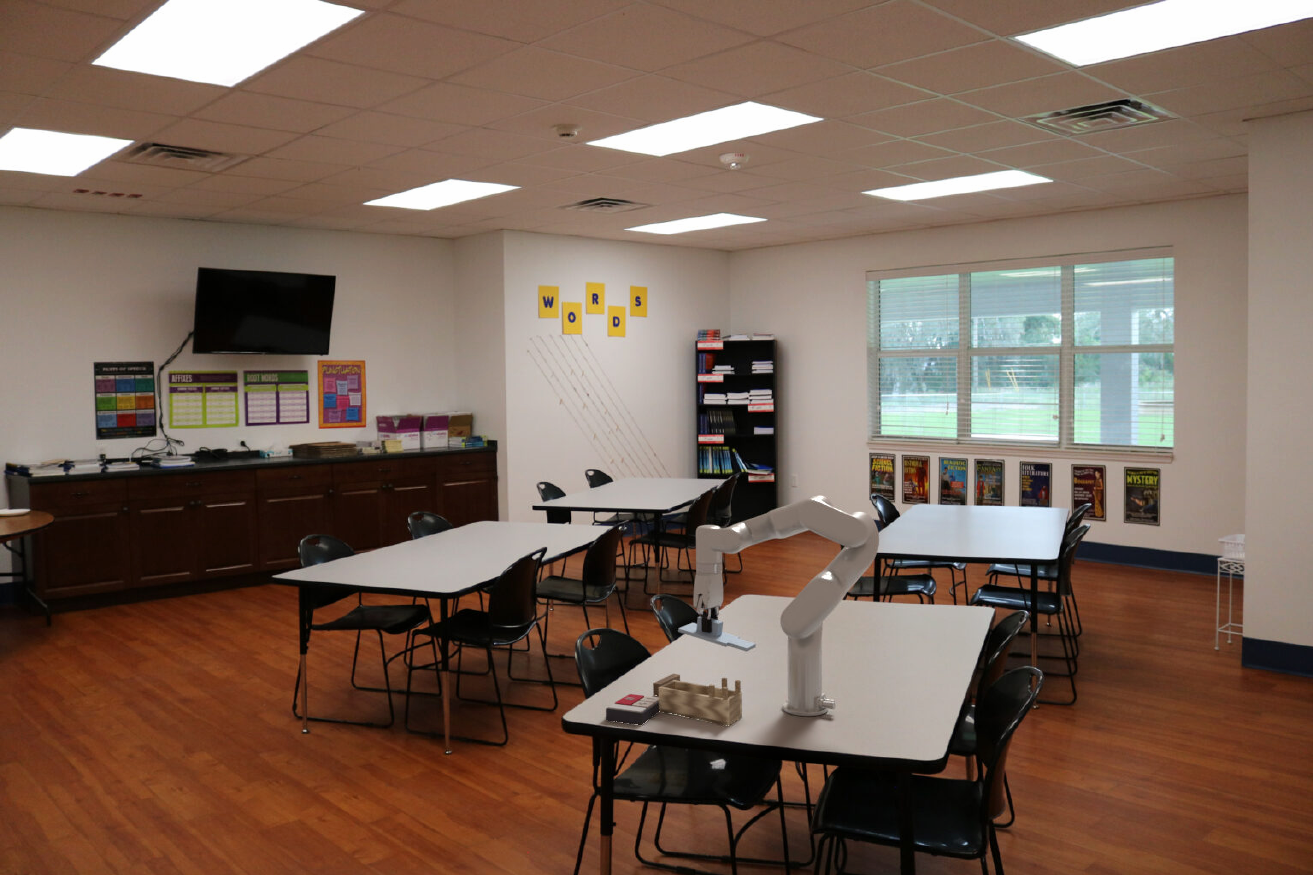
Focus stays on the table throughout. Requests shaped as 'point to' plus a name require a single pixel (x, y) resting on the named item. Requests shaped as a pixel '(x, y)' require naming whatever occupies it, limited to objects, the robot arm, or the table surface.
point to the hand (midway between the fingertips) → (709, 630)
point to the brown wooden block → (664, 682)
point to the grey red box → (633, 709)
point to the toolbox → (702, 701)
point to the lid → (716, 635)
